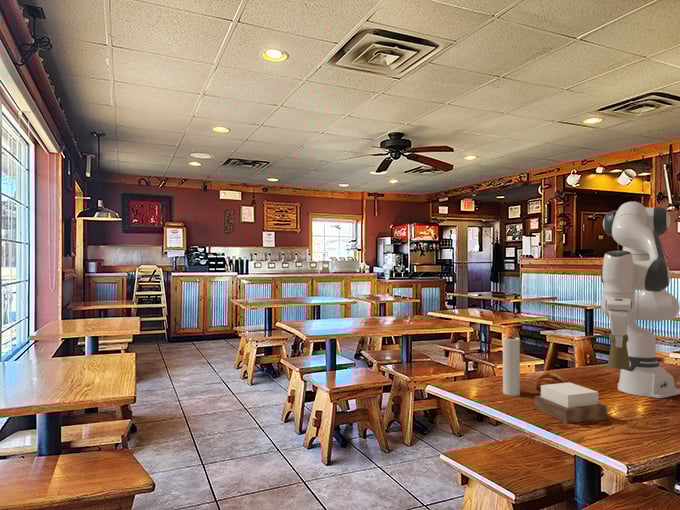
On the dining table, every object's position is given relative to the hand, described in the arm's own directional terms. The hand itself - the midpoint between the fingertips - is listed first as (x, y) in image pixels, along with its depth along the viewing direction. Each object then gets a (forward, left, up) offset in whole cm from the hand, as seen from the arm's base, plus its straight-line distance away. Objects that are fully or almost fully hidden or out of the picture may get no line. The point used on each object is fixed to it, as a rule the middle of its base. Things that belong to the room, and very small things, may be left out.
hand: (618, 345), depth 146 cm
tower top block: (+11, -9, -19) cm, 24 cm away
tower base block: (+11, -9, -24) cm, 28 cm away
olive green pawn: (0, 0, -7) cm, 7 cm away
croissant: (-2, -31, -24) cm, 39 cm away
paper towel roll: (+16, -33, -24) cm, 43 cm away
